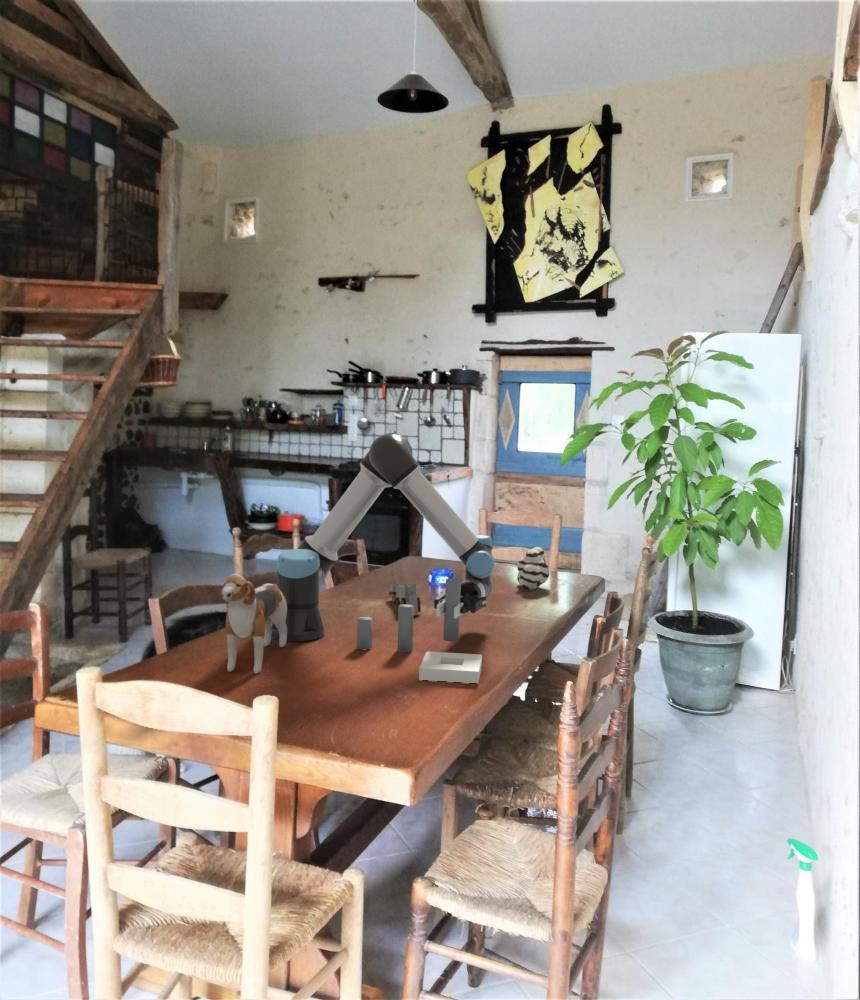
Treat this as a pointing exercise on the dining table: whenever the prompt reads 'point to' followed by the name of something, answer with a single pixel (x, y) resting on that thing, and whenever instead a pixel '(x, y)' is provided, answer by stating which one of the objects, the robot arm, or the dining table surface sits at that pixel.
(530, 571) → the sculpture
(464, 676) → the block
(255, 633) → the dog model
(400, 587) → the toy
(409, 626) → the medium dowel
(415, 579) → the dining table surface
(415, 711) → the dining table surface
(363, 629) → the short dowel
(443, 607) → the robot arm
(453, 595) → the tall dowel
